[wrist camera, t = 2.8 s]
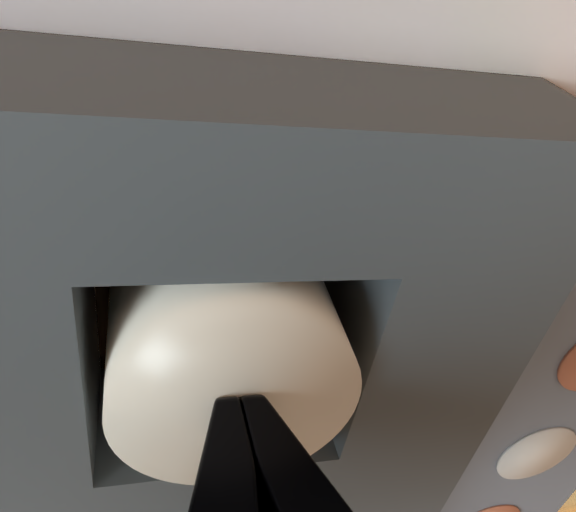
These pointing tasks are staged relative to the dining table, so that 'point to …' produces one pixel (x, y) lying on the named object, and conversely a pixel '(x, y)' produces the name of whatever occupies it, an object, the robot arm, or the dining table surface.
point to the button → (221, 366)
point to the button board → (276, 243)
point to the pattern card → (530, 434)
